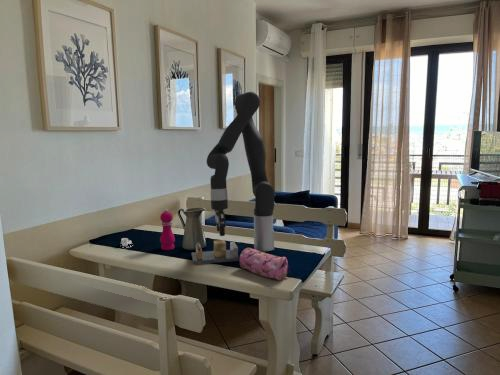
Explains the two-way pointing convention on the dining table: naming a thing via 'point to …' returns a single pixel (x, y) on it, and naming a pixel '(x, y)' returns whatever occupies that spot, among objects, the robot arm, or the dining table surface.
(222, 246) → the oak block
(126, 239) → the white looped part
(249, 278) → the dining table surface
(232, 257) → the vise base
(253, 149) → the robot arm
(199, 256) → the sliding jaw
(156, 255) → the dining table surface
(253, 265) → the pencil case
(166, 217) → the pepper mill
